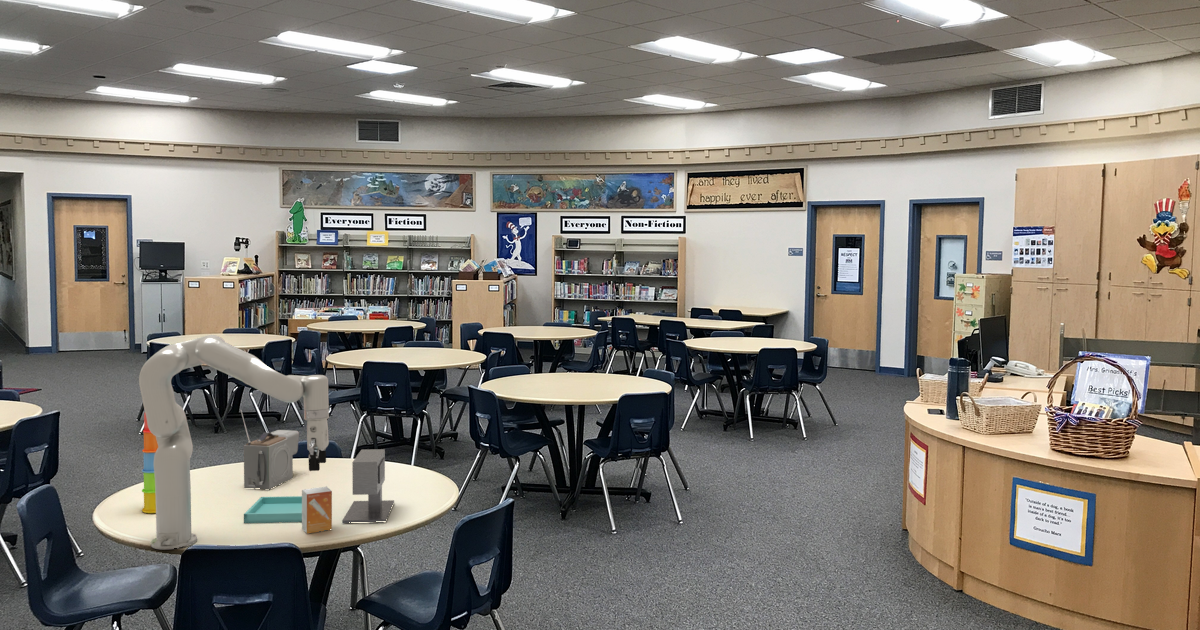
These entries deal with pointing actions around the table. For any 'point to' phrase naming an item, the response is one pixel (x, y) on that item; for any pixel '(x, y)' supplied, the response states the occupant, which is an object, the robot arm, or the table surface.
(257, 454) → the grey portable radio
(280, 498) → the teal tray
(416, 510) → the table surface
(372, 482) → the mounted unit
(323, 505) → the small box
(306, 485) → the table surface
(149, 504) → the stacking cups
